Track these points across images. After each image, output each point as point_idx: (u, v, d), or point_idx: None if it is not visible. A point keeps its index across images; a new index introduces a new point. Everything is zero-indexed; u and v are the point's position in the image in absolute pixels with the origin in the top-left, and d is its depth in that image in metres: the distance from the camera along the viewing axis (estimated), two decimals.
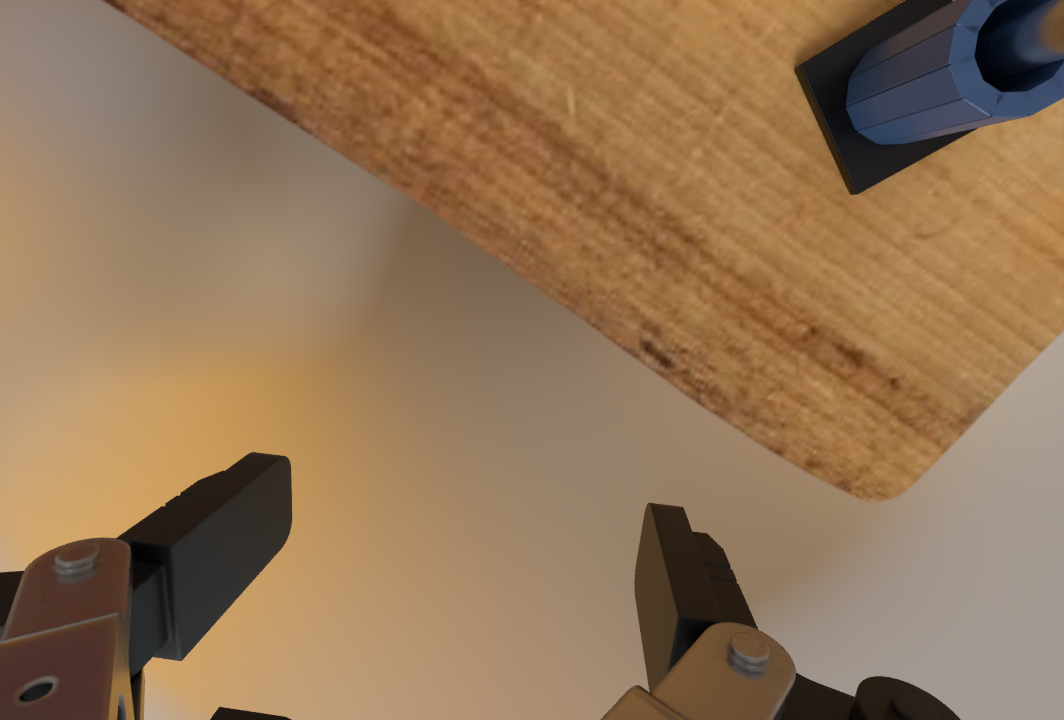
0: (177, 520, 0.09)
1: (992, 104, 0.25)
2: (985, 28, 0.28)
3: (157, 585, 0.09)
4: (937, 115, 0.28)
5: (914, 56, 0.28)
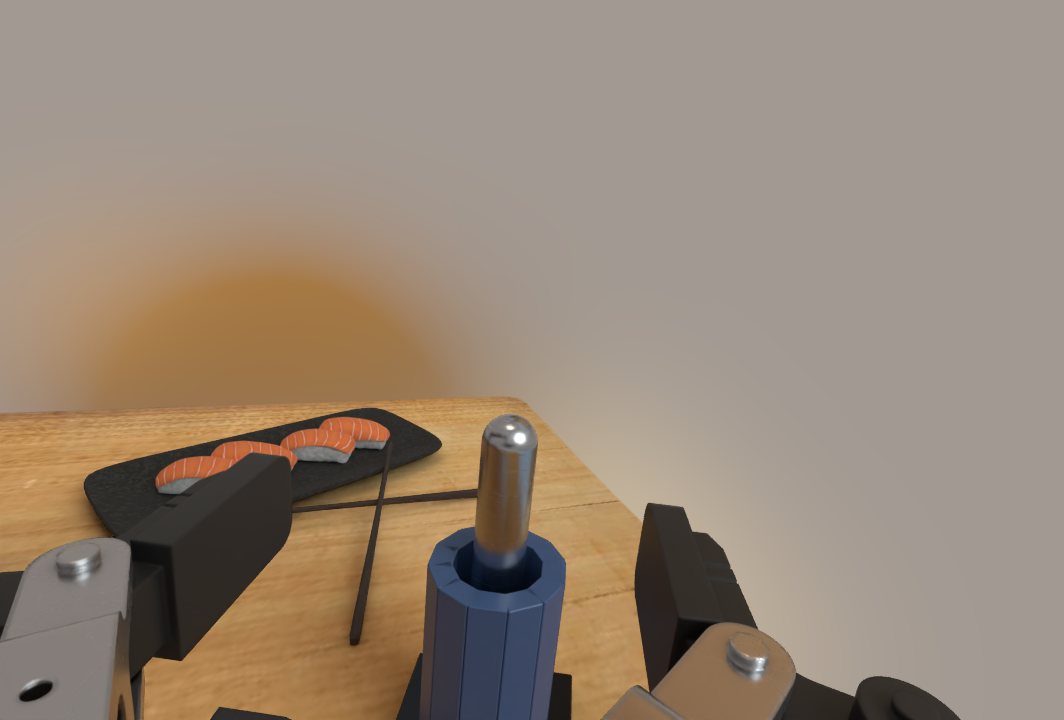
0: (177, 520, 0.09)
1: (533, 597, 0.23)
2: None
3: (157, 585, 0.09)
4: (515, 660, 0.23)
5: (443, 651, 0.24)
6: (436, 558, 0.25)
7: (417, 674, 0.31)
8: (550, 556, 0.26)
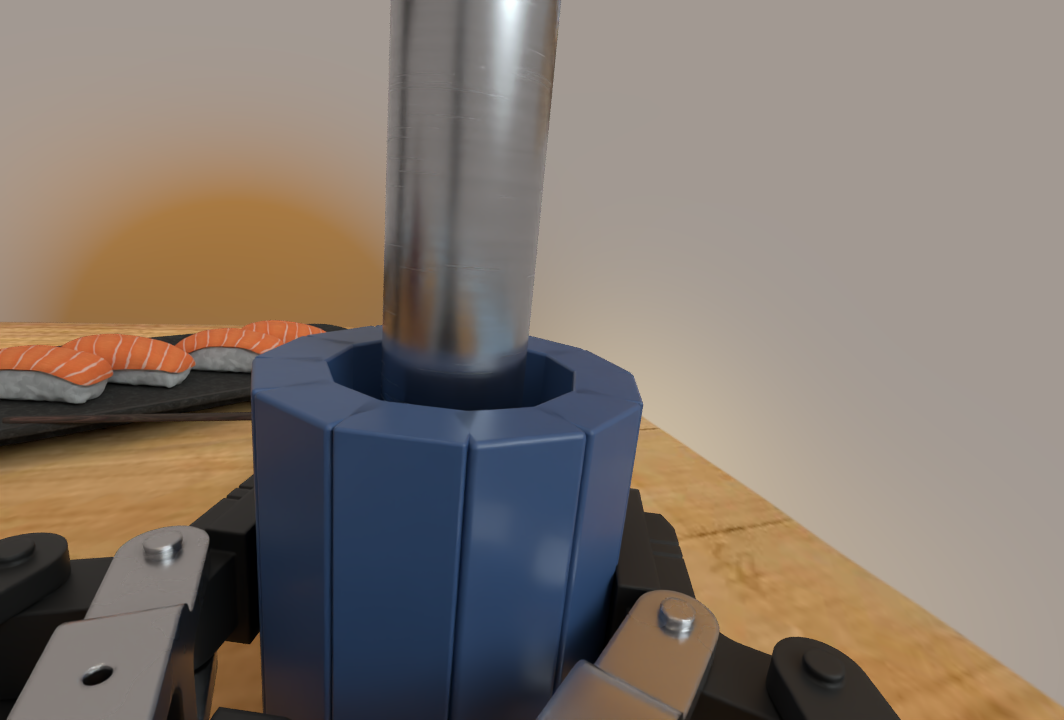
0: (245, 510, 0.10)
1: (553, 421, 0.07)
2: None
3: (230, 571, 0.09)
4: (497, 619, 0.07)
5: (280, 596, 0.08)
6: (287, 351, 0.09)
7: None
8: (592, 365, 0.10)
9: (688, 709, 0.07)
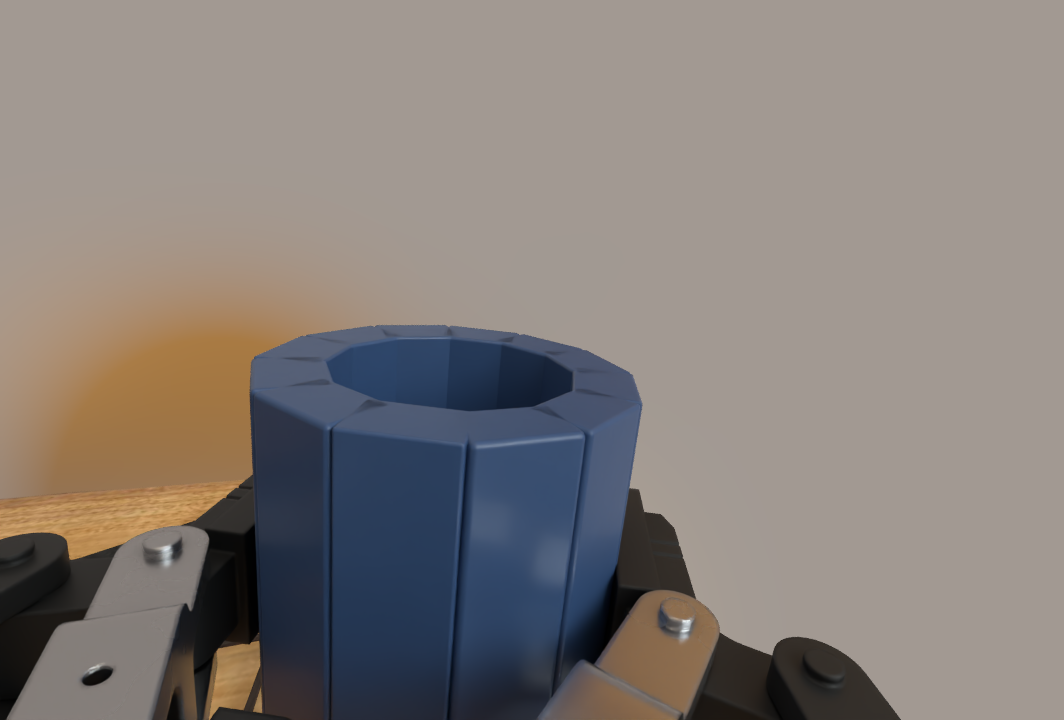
0: (245, 510, 0.10)
1: (552, 421, 0.07)
2: None
3: (230, 571, 0.09)
4: (496, 619, 0.07)
5: (279, 596, 0.08)
6: (286, 351, 0.09)
7: None
8: (591, 365, 0.10)
9: (688, 709, 0.07)
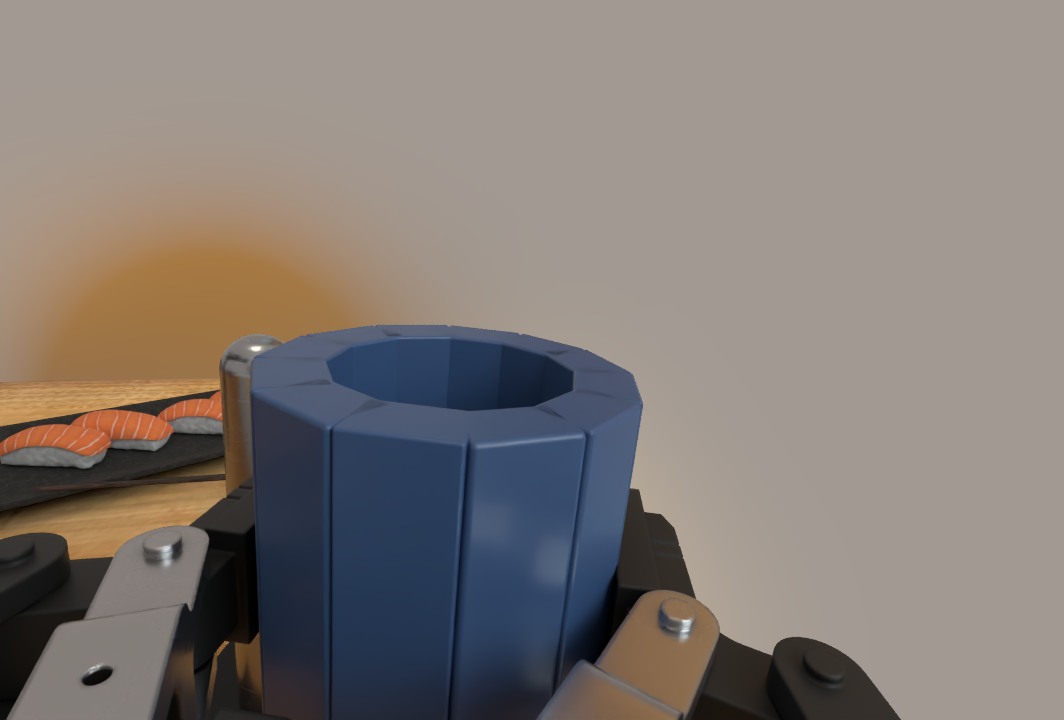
0: (245, 510, 0.10)
1: (553, 420, 0.07)
2: None
3: (230, 571, 0.09)
4: (496, 619, 0.07)
5: (279, 596, 0.08)
6: (286, 351, 0.09)
7: (220, 660, 0.26)
8: (592, 365, 0.10)
9: (688, 709, 0.07)
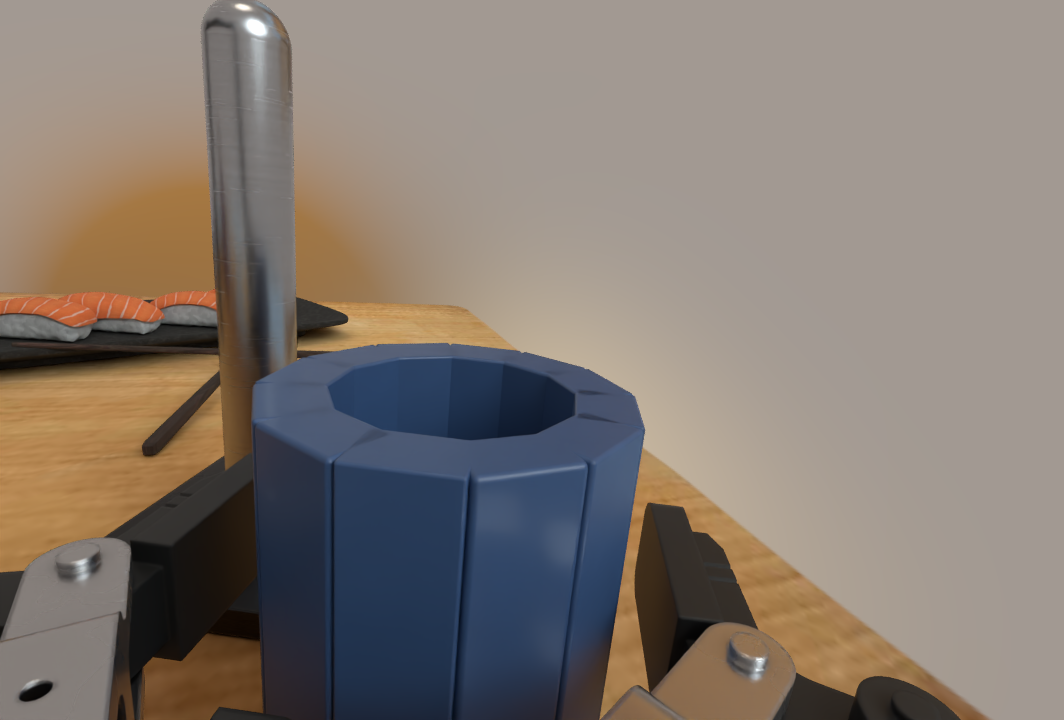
0: (177, 520, 0.09)
1: (554, 450, 0.07)
2: None
3: (157, 585, 0.09)
4: (499, 650, 0.07)
5: (281, 625, 0.08)
6: (287, 374, 0.09)
7: (207, 471, 0.24)
8: (593, 386, 0.10)
9: None
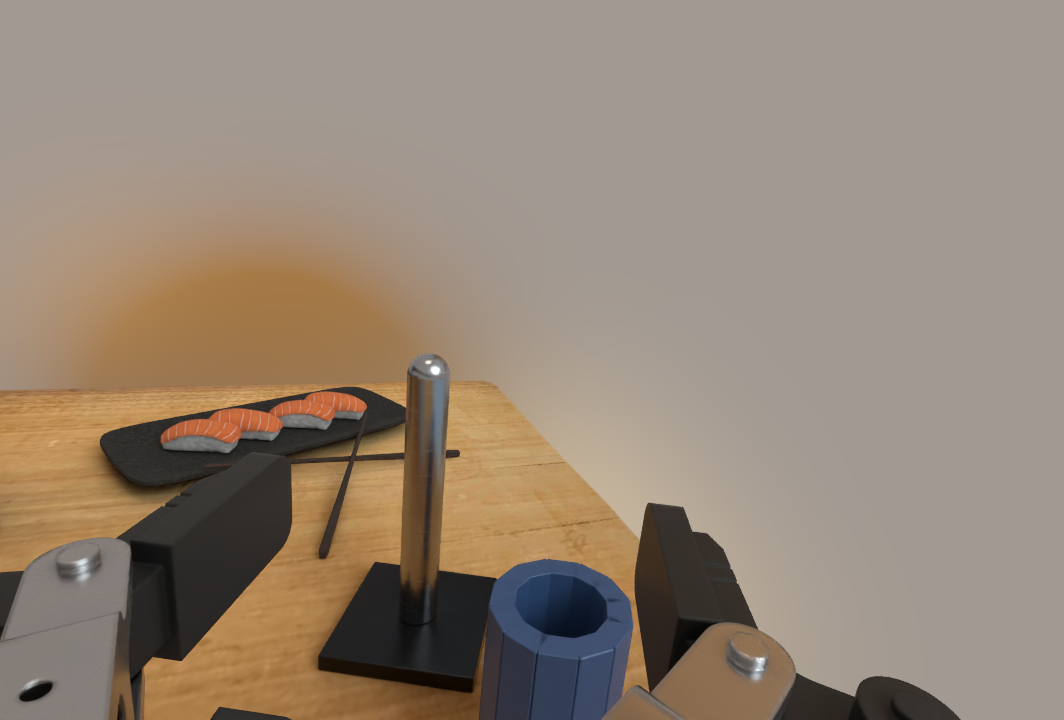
0: (177, 520, 0.09)
1: (602, 642, 0.22)
2: None
3: (157, 585, 0.09)
4: (584, 708, 0.22)
5: (508, 698, 0.23)
6: (497, 598, 0.24)
7: (370, 575, 0.39)
8: (613, 594, 0.25)
9: None
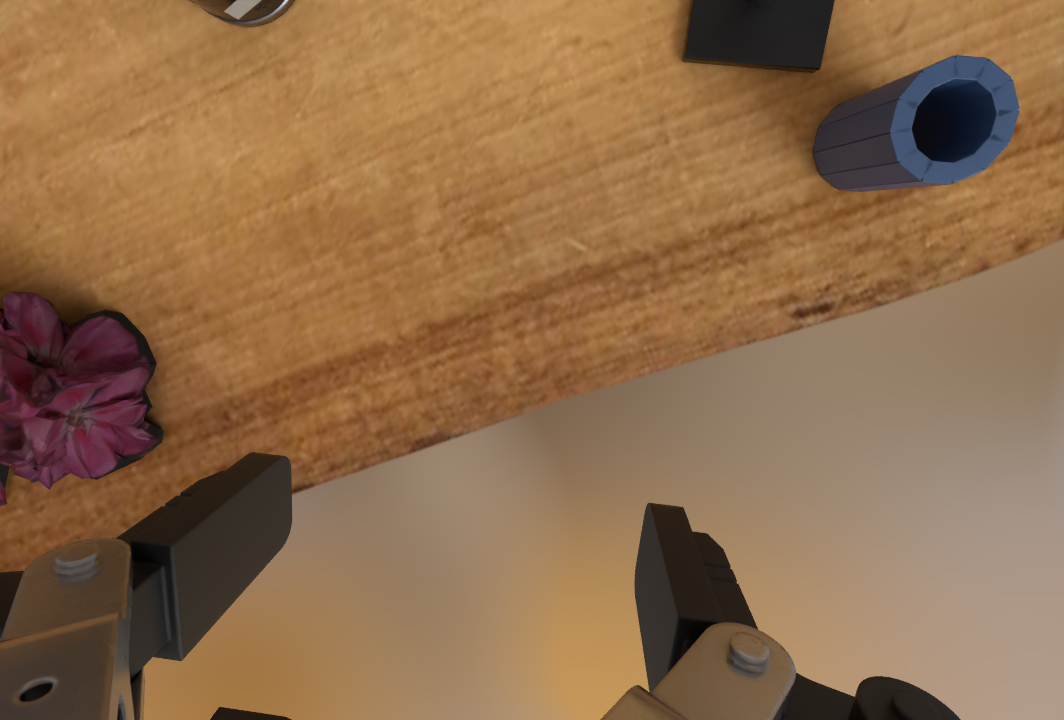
0: (177, 520, 0.09)
1: (976, 165, 0.29)
2: None
3: (157, 585, 0.09)
4: None
5: (877, 173, 0.33)
6: (897, 122, 0.29)
7: None
8: (1006, 104, 0.29)
9: None
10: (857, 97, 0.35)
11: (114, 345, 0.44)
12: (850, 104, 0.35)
